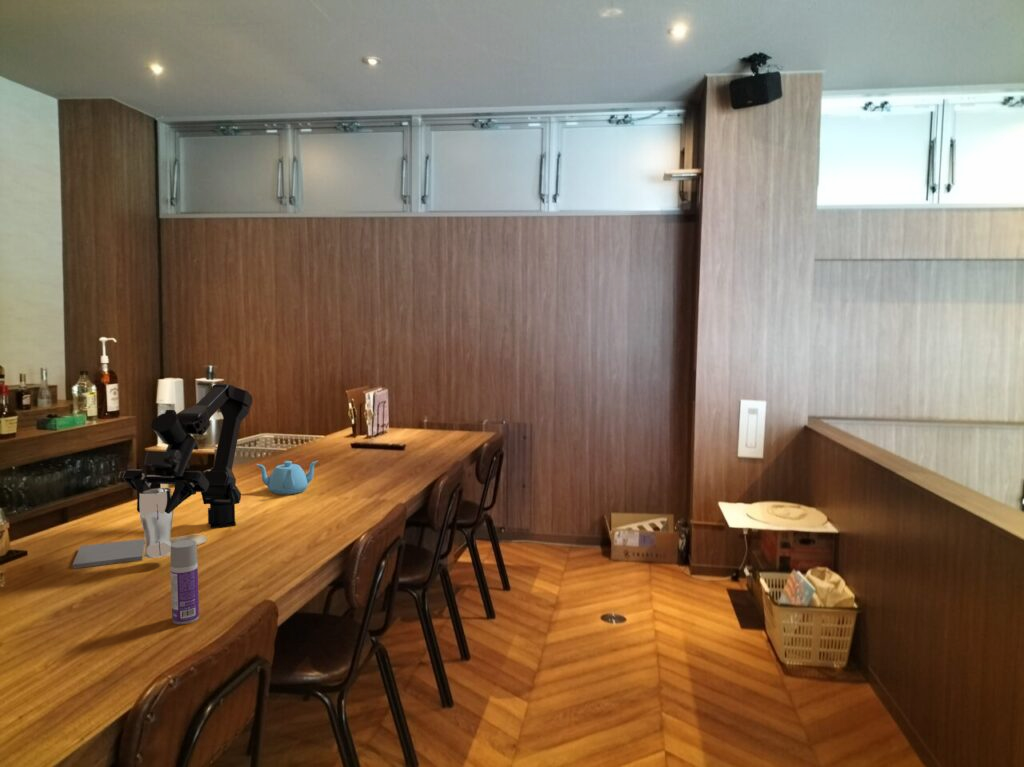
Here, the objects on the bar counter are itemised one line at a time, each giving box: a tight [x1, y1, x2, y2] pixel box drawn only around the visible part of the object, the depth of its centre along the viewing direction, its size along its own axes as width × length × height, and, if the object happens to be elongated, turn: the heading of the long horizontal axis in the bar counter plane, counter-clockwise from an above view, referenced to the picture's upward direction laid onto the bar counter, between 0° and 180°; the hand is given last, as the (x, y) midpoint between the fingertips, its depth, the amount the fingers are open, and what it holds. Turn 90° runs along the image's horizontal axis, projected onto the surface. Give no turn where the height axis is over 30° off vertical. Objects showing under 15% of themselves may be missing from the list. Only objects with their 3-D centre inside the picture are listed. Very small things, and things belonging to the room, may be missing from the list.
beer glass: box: [138, 487, 174, 559], centre depth 156 cm, size 7×7×15 cm
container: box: [170, 540, 200, 625], centre depth 128 cm, size 5×5×15 cm
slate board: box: [72, 538, 146, 570], centre depth 163 cm, size 14×14×1 cm
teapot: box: [256, 460, 319, 496], centre depth 226 cm, size 15×15×10 cm
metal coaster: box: [171, 534, 208, 547], centre depth 173 cm, size 9×9×1 cm
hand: (152, 512), depth 155 cm, fingers closed on beer glass, 6 cm apart
